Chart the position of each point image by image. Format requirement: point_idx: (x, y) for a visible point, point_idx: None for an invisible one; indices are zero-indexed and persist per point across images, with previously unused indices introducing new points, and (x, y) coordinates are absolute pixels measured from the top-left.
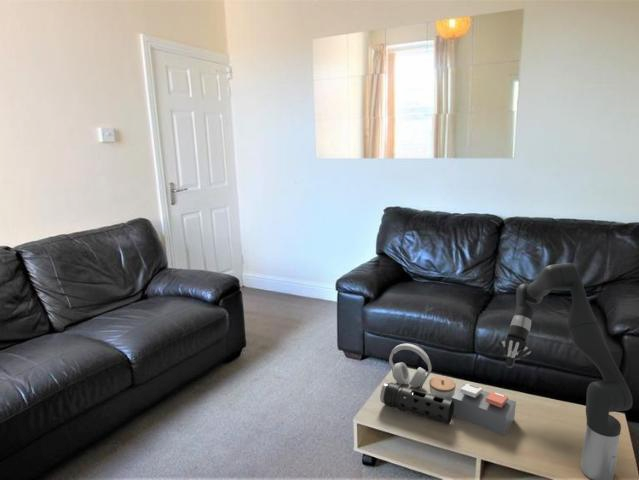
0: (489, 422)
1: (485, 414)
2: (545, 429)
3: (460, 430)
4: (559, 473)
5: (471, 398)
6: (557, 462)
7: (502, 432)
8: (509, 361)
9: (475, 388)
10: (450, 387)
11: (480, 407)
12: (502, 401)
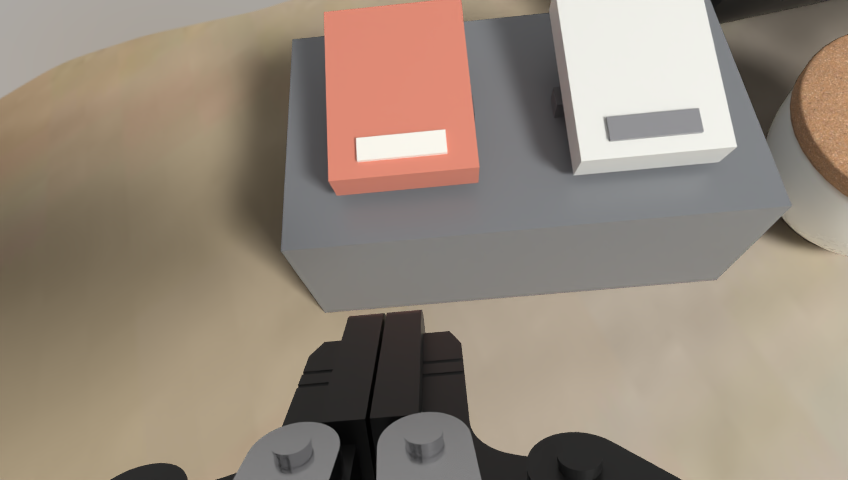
0: None
1: None
2: (125, 348)
3: None
4: (52, 72)
5: None
6: (59, 126)
7: None
8: (381, 371)
9: (619, 93)
10: (823, 95)
11: (480, 23)
12: (333, 49)
